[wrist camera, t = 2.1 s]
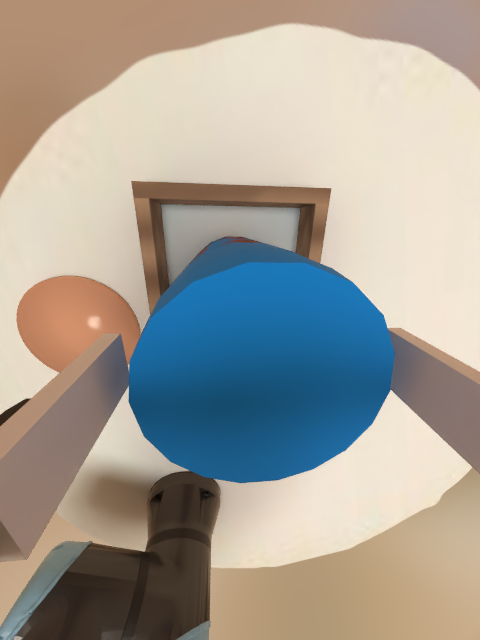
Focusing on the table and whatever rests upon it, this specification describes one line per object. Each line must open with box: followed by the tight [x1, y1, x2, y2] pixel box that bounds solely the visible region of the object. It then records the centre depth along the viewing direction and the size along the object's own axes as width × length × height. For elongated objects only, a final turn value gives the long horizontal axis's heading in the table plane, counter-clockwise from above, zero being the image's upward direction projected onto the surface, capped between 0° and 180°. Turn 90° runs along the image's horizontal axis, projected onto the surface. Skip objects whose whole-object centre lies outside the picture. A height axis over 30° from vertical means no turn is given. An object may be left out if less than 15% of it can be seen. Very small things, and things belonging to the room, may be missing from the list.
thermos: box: [129, 237, 395, 483], centre depth 20 cm, size 11×11×25 cm
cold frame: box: [131, 181, 331, 315], centre depth 26 cm, size 21×21×12 cm
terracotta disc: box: [17, 276, 140, 372], centre depth 32 cm, size 16×16×1 cm
